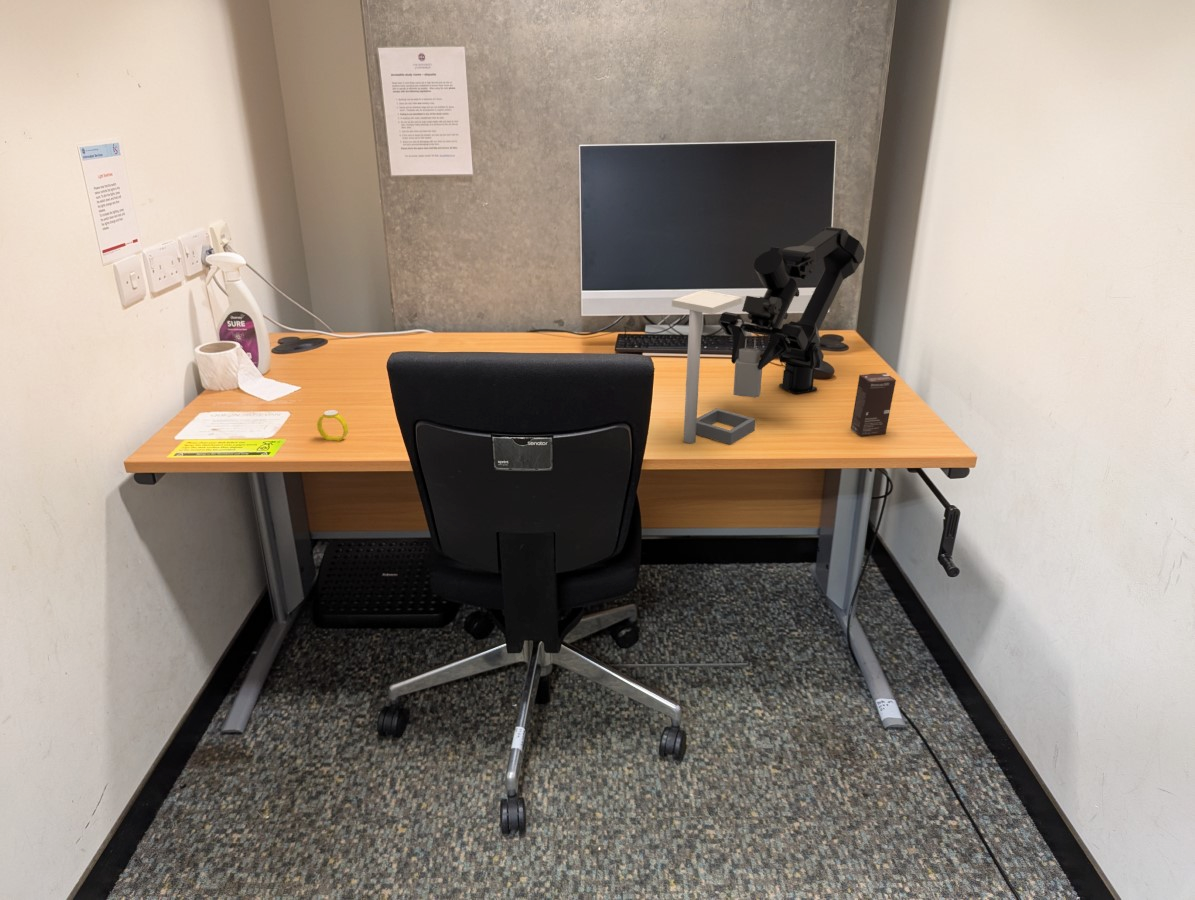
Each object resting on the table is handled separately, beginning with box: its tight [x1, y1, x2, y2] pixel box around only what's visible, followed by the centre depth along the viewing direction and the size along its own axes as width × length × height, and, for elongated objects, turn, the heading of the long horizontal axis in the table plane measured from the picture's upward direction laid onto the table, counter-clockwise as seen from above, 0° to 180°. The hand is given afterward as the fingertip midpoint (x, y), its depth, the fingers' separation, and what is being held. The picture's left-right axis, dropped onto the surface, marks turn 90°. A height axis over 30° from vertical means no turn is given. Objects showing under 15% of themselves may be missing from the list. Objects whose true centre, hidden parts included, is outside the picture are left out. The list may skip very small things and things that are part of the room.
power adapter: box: [732, 338, 763, 398], centre depth 167 cm, size 3×5×12 cm, turn 72°
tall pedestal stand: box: [671, 289, 757, 446], centre depth 159 cm, size 15×12×28 cm
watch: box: [316, 409, 349, 442], centre depth 161 cm, size 6×3×6 cm, turn 80°
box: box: [850, 372, 897, 437], centre depth 163 cm, size 6×4×12 cm
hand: (745, 365), depth 166 cm, fingers closed on power adapter, 6 cm apart
